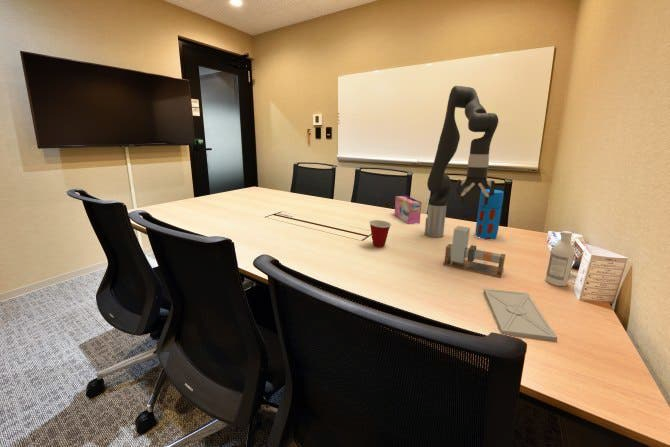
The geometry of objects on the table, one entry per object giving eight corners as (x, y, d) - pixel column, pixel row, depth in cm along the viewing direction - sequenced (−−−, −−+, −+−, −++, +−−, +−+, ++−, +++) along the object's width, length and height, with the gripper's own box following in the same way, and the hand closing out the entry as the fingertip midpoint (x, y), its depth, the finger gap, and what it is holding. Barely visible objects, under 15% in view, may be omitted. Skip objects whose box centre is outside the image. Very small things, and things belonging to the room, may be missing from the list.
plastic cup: (389, 250, 149) (391, 226, 146) (367, 248, 151) (368, 224, 148) (390, 242, 159) (391, 220, 156) (369, 241, 161) (370, 219, 158)
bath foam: (556, 277, 121) (567, 228, 116) (572, 285, 115) (584, 234, 109) (540, 279, 120) (551, 229, 114) (556, 287, 114) (567, 235, 108)
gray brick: (467, 261, 128) (468, 248, 127) (469, 256, 133) (471, 245, 131) (472, 262, 127) (474, 249, 126) (474, 257, 132) (476, 245, 130)
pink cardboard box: (393, 214, 214) (394, 195, 210) (403, 214, 215) (405, 194, 212) (408, 224, 191) (410, 202, 188) (420, 223, 193) (422, 202, 189)
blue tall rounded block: (499, 240, 163) (506, 193, 156) (477, 239, 165) (484, 192, 158) (493, 234, 173) (500, 189, 166) (473, 232, 175) (478, 188, 168)
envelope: (501, 336, 88) (556, 343, 85) (502, 329, 87) (557, 336, 84) (483, 293, 110) (526, 297, 107) (484, 287, 109) (527, 292, 106)
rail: (443, 265, 133) (444, 248, 130) (448, 258, 140) (450, 242, 138) (500, 277, 121) (503, 260, 119) (503, 269, 128) (506, 252, 126)
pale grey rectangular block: (450, 260, 132) (454, 229, 128) (454, 255, 137) (457, 225, 133) (462, 263, 129) (466, 231, 125) (466, 258, 134) (470, 227, 130)
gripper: (494, 165, 127) (489, 204, 131) (457, 164, 130) (453, 202, 134) (499, 166, 120) (493, 208, 124) (460, 166, 123) (456, 206, 127)
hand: (473, 205), depth 129 cm, fingers open, 8 cm apart
